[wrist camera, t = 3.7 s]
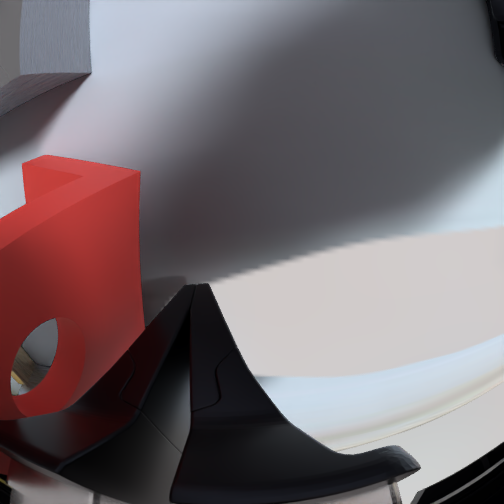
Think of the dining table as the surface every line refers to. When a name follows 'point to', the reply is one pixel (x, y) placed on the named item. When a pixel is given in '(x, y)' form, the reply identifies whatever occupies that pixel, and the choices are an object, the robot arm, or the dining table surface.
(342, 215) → the dining table surface
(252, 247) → the dining table surface
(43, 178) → the bracket
